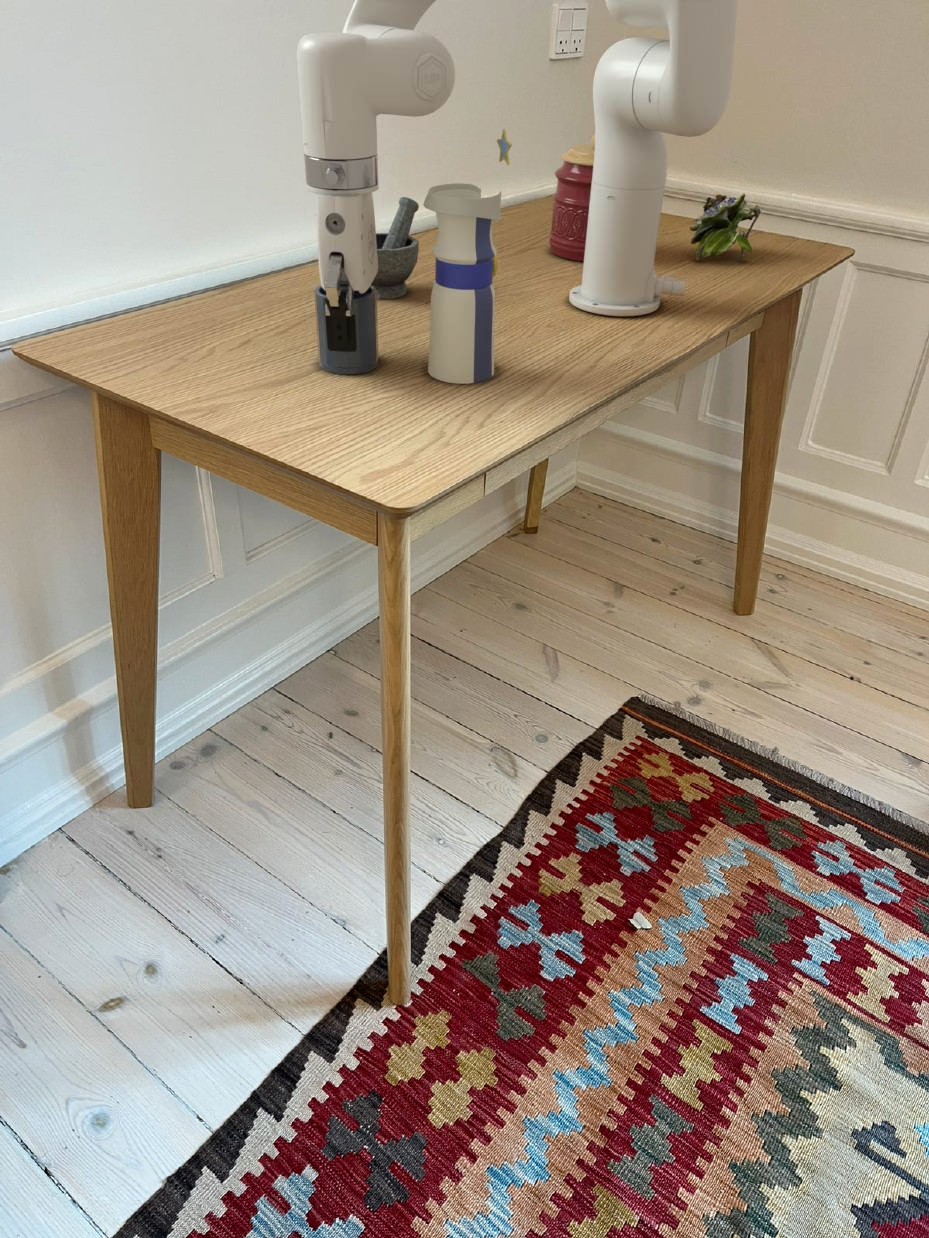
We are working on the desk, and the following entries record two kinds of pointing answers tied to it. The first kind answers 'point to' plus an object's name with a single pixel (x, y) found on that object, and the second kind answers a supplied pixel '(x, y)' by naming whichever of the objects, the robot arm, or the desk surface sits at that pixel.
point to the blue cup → (365, 332)
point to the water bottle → (463, 281)
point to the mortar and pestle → (396, 253)
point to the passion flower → (722, 226)
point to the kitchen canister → (572, 202)
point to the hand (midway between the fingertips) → (350, 335)
